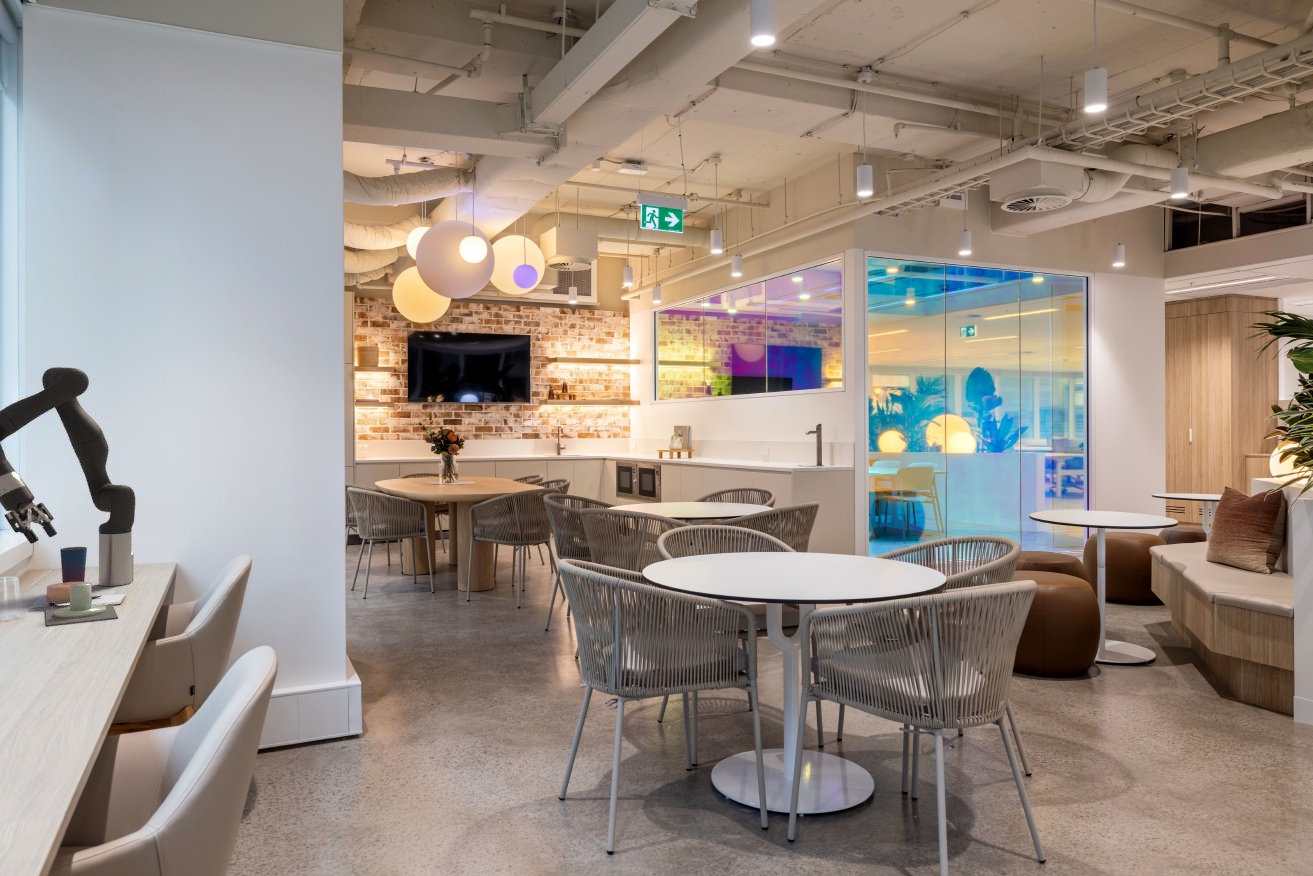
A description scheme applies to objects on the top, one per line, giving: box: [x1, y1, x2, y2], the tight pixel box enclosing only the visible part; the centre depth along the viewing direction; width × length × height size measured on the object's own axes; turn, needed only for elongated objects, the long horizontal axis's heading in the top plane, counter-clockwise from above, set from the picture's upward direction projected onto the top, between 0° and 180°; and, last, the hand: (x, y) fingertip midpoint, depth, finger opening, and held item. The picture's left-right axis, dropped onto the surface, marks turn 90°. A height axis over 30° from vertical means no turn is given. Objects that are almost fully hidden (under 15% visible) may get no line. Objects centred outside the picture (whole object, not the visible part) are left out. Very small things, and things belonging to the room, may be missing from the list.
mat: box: [45, 603, 119, 627], centre depth 235 cm, size 22×16×1 cm
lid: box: [55, 582, 106, 618], centre depth 235 cm, size 12×12×8 cm
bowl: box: [46, 581, 93, 603], centre depth 249 cm, size 11×11×6 cm
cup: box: [59, 546, 88, 583], centre depth 259 cm, size 7×7×15 cm
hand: (44, 538), depth 241 cm, fingers open, 8 cm apart
